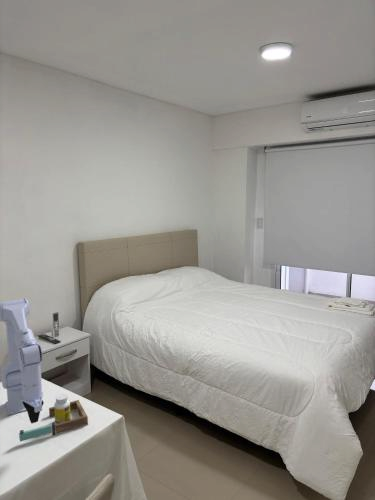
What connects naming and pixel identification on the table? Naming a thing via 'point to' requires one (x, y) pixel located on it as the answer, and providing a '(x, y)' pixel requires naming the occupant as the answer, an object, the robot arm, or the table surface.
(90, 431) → the table surface
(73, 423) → the brown frame
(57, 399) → the supplement bottle
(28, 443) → the table surface
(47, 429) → the swing gate
